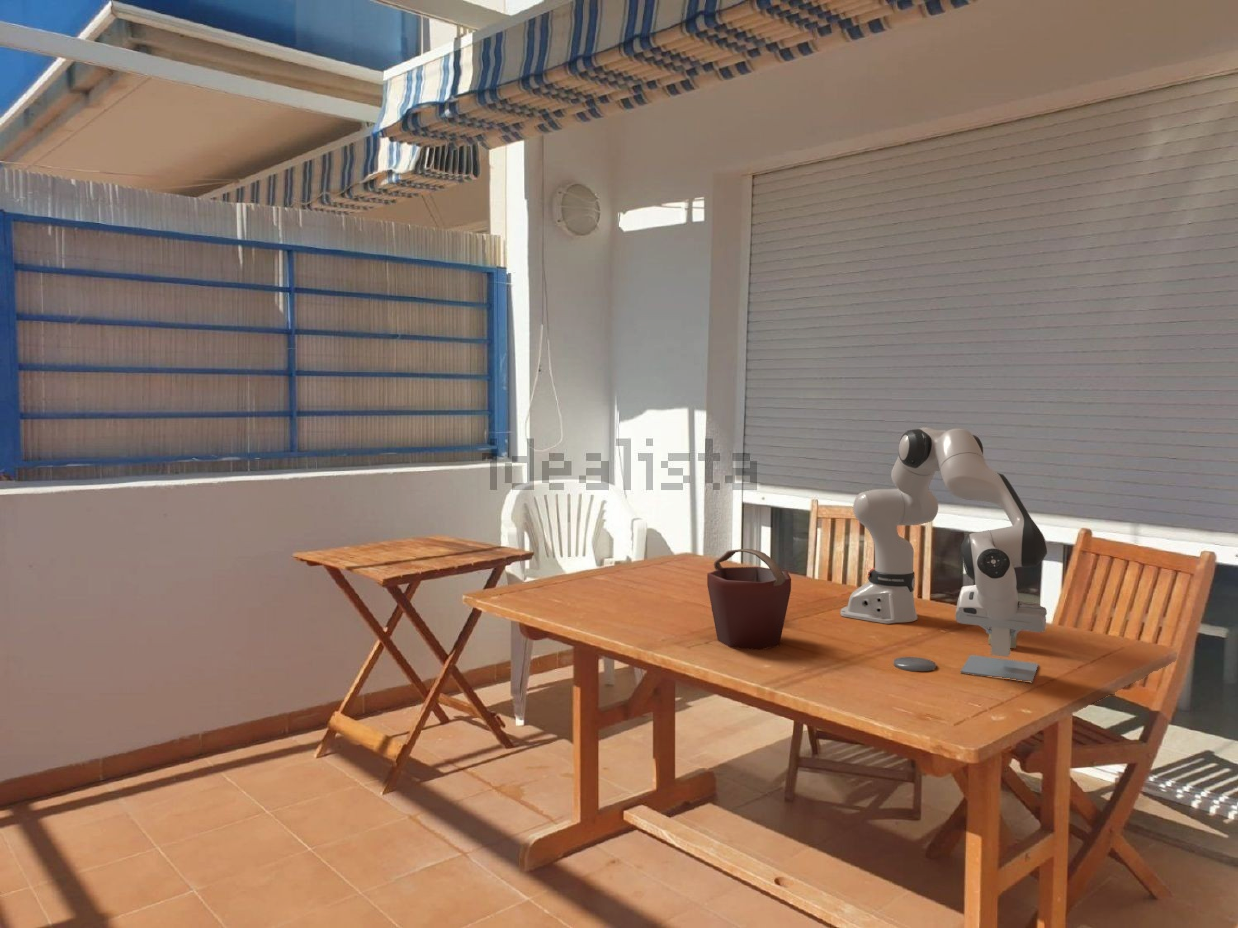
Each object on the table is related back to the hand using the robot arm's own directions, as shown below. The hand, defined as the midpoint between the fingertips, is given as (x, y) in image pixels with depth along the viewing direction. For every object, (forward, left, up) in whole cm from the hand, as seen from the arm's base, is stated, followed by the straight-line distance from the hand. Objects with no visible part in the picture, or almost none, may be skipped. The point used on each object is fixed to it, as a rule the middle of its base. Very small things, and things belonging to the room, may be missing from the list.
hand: (1001, 632), depth 230 cm
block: (0, -1, -5) cm, 5 cm away
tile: (0, -1, -9) cm, 9 cm away
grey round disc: (-19, -8, -9) cm, 22 cm away
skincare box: (-2, +22, -9) cm, 24 cm away
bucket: (-63, -6, -9) cm, 64 cm away
